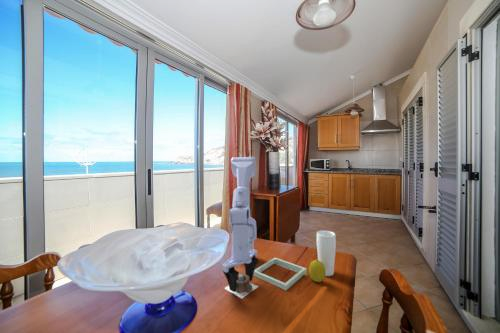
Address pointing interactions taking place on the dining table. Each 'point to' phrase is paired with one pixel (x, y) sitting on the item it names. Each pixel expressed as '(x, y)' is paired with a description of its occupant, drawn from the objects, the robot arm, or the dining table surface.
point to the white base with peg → (241, 294)
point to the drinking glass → (326, 250)
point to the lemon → (317, 271)
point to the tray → (284, 264)
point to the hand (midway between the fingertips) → (241, 284)
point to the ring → (243, 284)
